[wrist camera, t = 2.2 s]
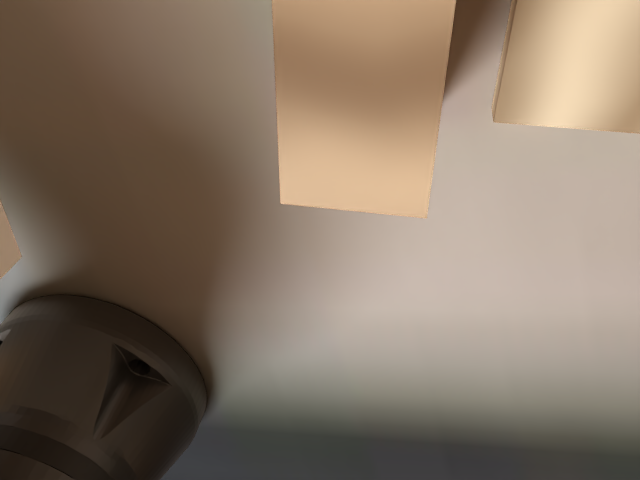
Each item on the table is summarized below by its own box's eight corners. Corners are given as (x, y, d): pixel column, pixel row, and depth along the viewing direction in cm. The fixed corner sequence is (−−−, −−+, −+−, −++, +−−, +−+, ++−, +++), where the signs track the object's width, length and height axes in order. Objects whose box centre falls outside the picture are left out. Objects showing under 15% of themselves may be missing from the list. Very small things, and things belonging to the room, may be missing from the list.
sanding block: (432, 113, 26) (426, 218, 20) (322, 104, 27) (280, 203, 20) (461, -122, 21) (468, -88, 14) (324, -125, 22) (268, -94, 15)
